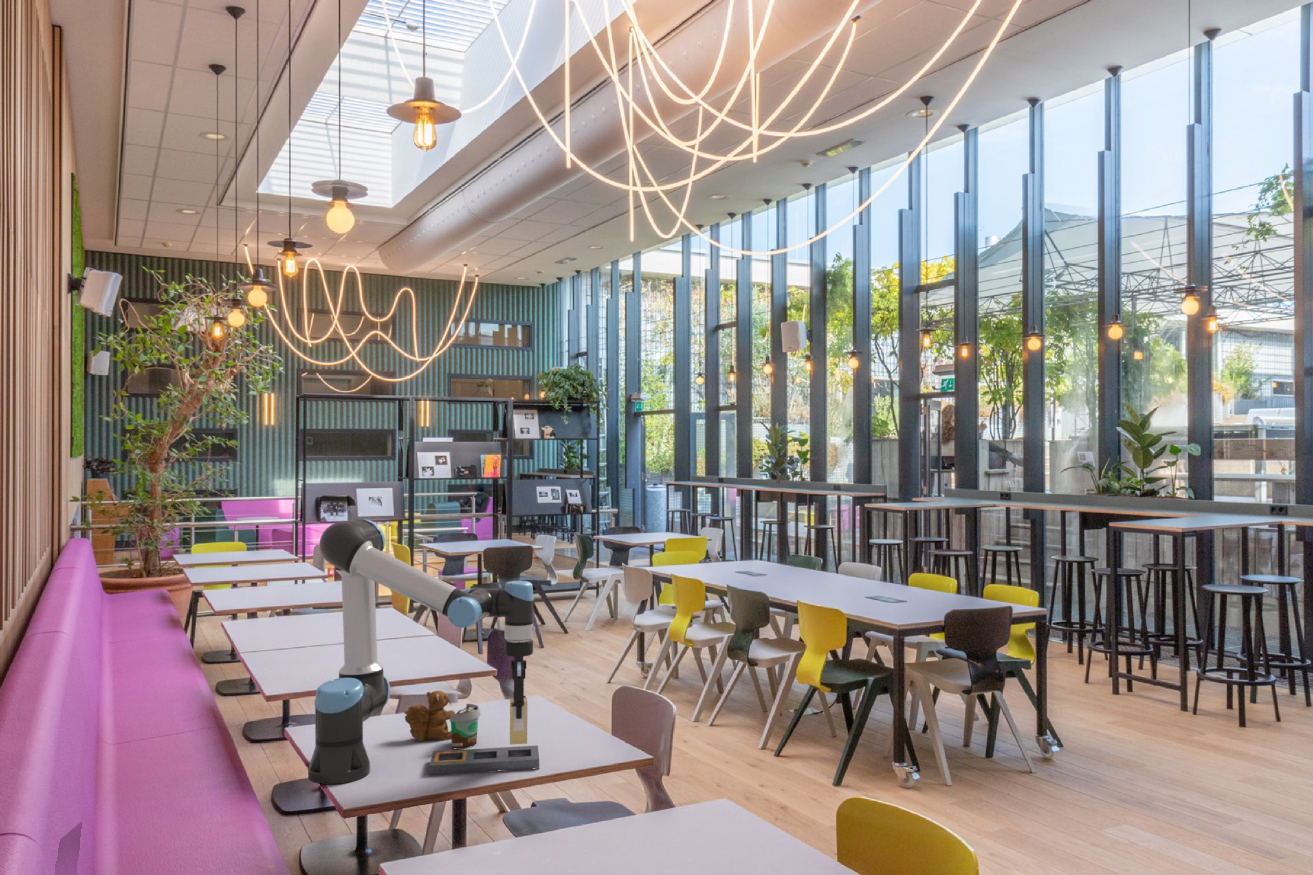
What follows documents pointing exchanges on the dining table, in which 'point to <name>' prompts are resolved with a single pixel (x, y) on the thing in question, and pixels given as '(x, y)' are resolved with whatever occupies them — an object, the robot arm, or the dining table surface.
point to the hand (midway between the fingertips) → (518, 727)
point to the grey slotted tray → (483, 760)
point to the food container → (465, 726)
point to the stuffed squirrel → (430, 718)
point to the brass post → (518, 736)
